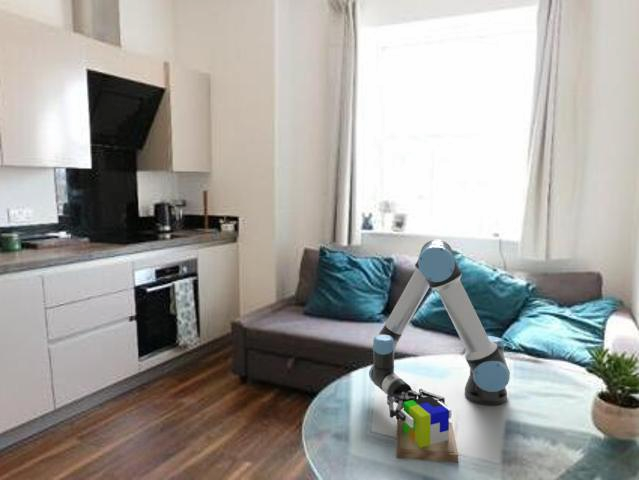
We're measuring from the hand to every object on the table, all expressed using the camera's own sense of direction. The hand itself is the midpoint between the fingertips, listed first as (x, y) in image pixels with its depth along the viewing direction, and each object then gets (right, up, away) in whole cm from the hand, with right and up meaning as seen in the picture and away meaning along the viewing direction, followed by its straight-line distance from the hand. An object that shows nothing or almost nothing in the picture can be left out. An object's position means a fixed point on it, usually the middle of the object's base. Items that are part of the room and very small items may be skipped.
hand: (431, 418), depth 147 cm
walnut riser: (-1, -9, +5) cm, 11 cm away
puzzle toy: (-1, -7, +4) cm, 8 cm away
